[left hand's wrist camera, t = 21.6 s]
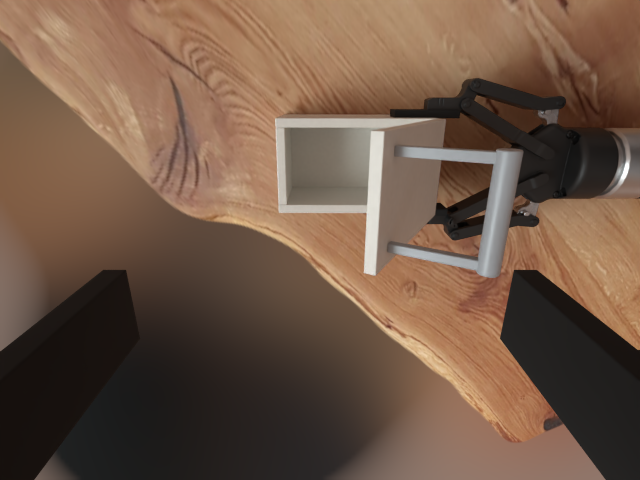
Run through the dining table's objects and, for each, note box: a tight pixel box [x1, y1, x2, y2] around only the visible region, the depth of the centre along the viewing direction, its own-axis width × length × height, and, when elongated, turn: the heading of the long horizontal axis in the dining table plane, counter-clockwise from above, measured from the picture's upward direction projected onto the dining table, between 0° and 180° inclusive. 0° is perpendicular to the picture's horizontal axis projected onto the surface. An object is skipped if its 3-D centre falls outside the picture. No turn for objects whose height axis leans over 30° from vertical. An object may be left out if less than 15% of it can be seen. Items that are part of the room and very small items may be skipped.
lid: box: [364, 119, 523, 278], centre depth 29 cm, size 16×10×8 cm
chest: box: [275, 114, 439, 213], centre depth 42 cm, size 16×10×9 cm, turn 90°
